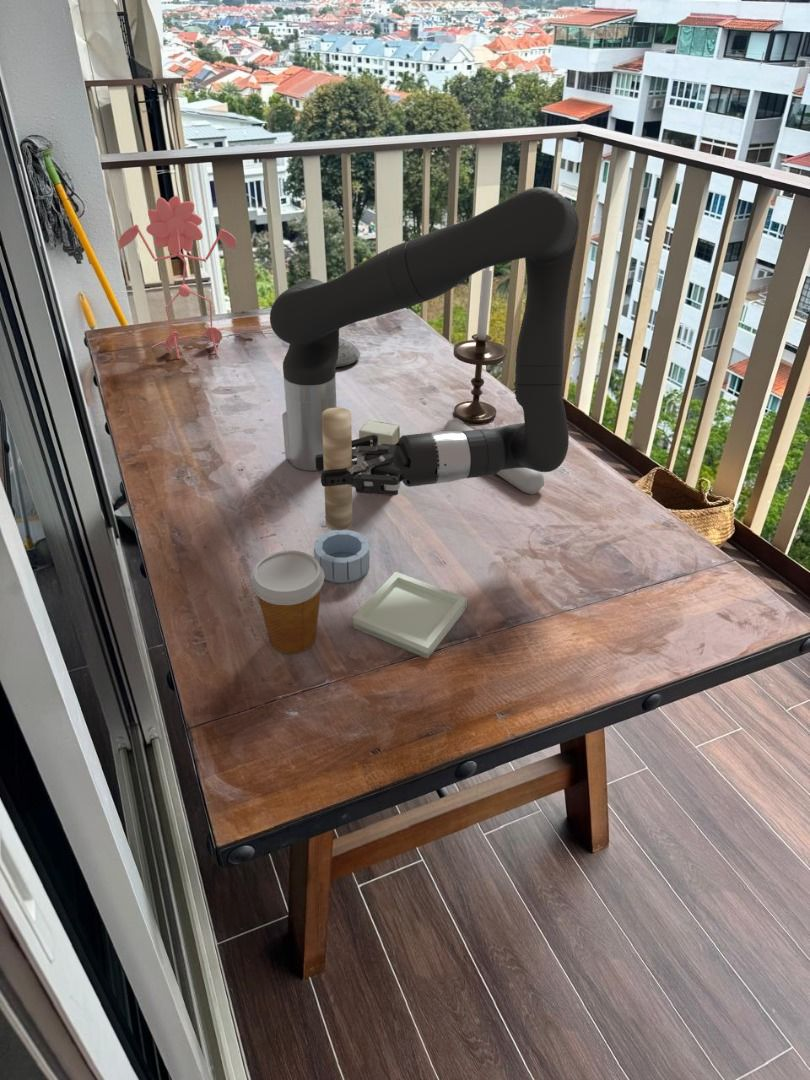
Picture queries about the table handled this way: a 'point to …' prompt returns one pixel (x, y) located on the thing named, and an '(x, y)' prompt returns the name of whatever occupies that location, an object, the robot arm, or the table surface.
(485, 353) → the candlestick
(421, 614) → the tray
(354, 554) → the holder
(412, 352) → the table surface
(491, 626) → the table surface
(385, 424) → the skincare box
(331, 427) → the dowel
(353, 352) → the flying saucer
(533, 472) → the tube
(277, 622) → the disposable coffee cup
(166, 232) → the figurine
